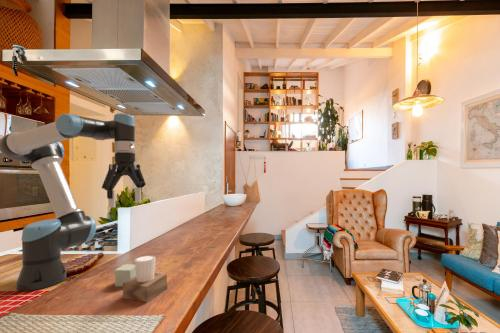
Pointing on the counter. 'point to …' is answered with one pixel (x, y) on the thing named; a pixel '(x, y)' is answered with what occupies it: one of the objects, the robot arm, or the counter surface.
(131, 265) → the sage block
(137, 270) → the shot glass
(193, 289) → the counter surface
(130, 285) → the walnut block
